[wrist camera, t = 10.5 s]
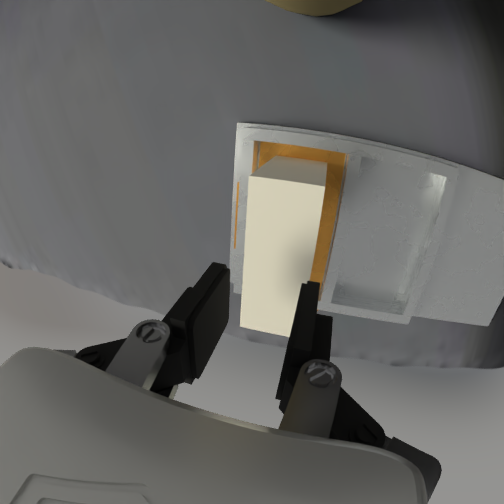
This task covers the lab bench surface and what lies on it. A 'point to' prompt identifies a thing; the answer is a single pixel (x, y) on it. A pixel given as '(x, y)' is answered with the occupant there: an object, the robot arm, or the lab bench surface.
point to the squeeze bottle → (314, 6)
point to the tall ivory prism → (280, 240)
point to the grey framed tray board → (387, 227)
